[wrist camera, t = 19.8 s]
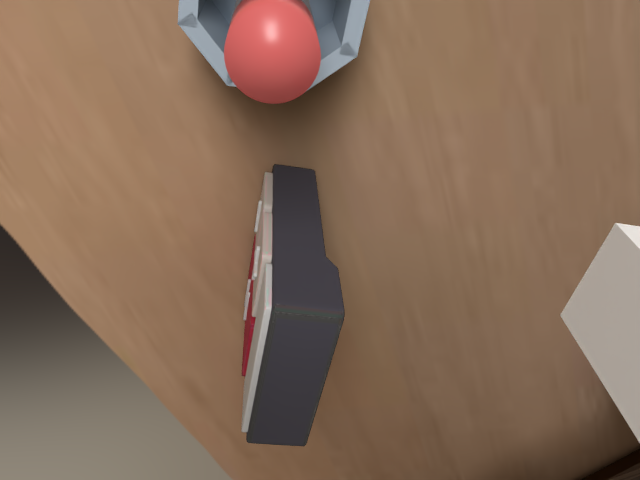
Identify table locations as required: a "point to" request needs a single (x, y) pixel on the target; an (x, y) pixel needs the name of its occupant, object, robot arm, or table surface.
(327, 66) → the pen cup
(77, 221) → the table surface
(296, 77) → the marker
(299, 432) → the grey and red block
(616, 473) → the pan flute
